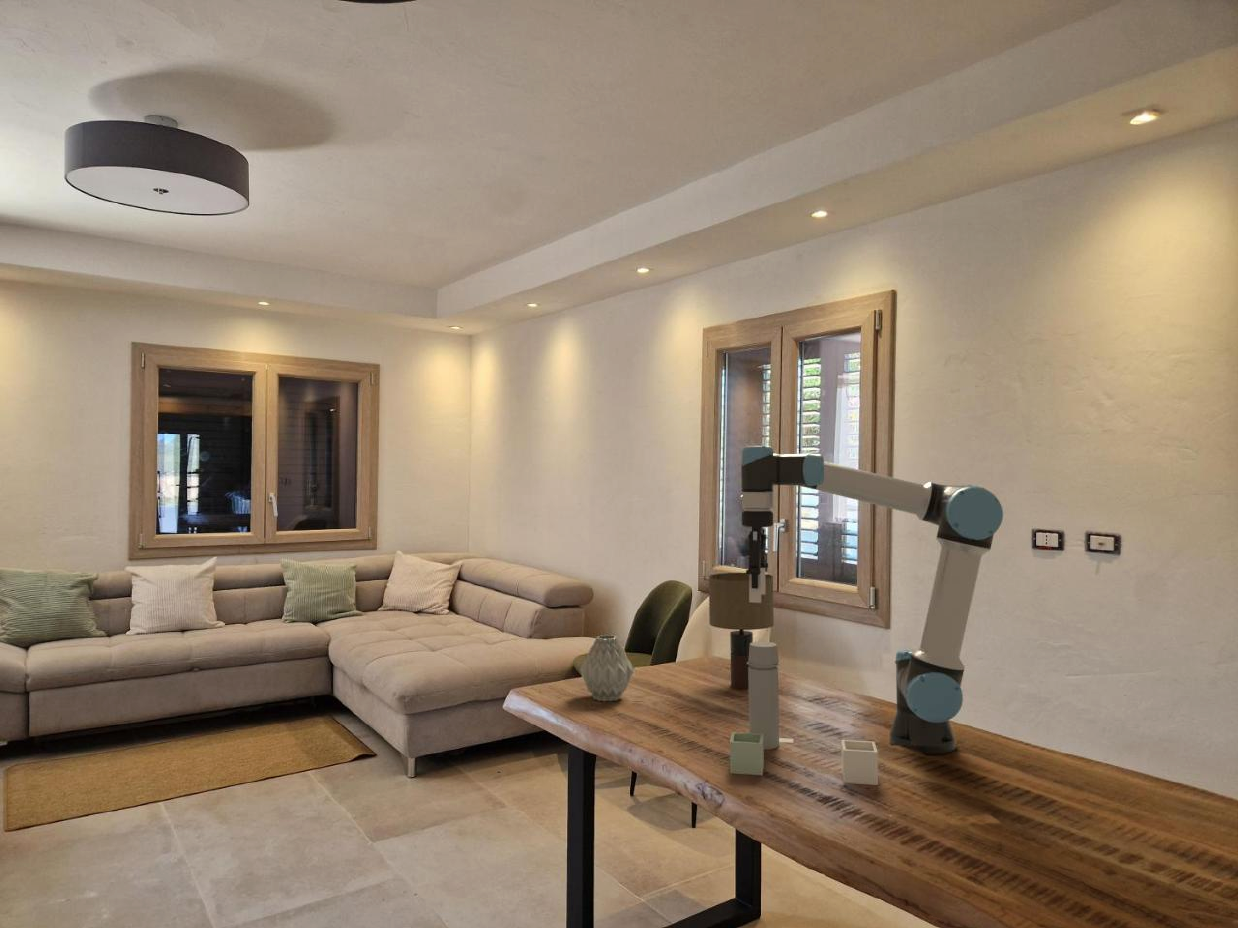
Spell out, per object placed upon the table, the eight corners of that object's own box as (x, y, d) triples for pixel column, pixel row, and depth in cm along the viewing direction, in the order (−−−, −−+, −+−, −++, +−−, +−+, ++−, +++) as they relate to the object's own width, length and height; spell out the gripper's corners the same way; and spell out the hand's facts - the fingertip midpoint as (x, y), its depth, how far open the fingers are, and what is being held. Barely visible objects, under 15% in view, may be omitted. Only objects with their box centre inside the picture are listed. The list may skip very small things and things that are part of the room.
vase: (574, 693, 248) (573, 633, 248) (624, 689, 253) (624, 630, 253) (588, 707, 232) (587, 643, 233) (641, 702, 237) (641, 639, 237)
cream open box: (875, 778, 176) (874, 741, 176) (878, 790, 169) (877, 752, 169) (841, 776, 177) (841, 739, 177) (843, 788, 170) (843, 750, 170)
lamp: (739, 675, 269) (738, 571, 269) (787, 687, 253) (786, 576, 254) (697, 685, 256) (695, 576, 257) (744, 698, 240) (743, 581, 241)
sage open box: (763, 769, 182) (763, 733, 182) (762, 780, 175) (762, 743, 175) (732, 767, 183) (732, 732, 183) (730, 778, 176) (729, 741, 177)
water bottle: (780, 753, 191) (779, 647, 191) (747, 751, 192) (745, 646, 193) (780, 740, 200) (779, 640, 200) (748, 739, 201) (747, 639, 202)
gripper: (746, 507, 207) (746, 590, 206) (736, 511, 183) (736, 605, 182) (776, 508, 205) (776, 591, 204) (769, 512, 181) (769, 606, 180)
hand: (757, 598), depth 193 cm, fingers open, 13 cm apart
